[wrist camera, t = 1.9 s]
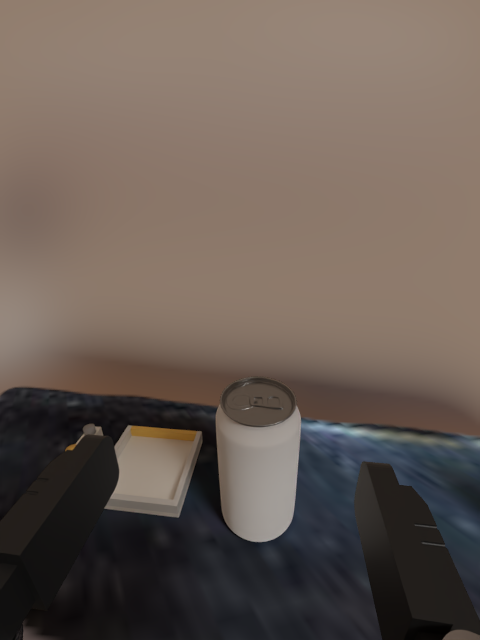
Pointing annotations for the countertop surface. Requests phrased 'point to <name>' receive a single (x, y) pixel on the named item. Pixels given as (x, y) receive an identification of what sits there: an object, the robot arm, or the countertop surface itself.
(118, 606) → the countertop surface
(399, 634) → the robot arm
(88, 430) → the indicator bank
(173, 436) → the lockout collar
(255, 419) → the can
